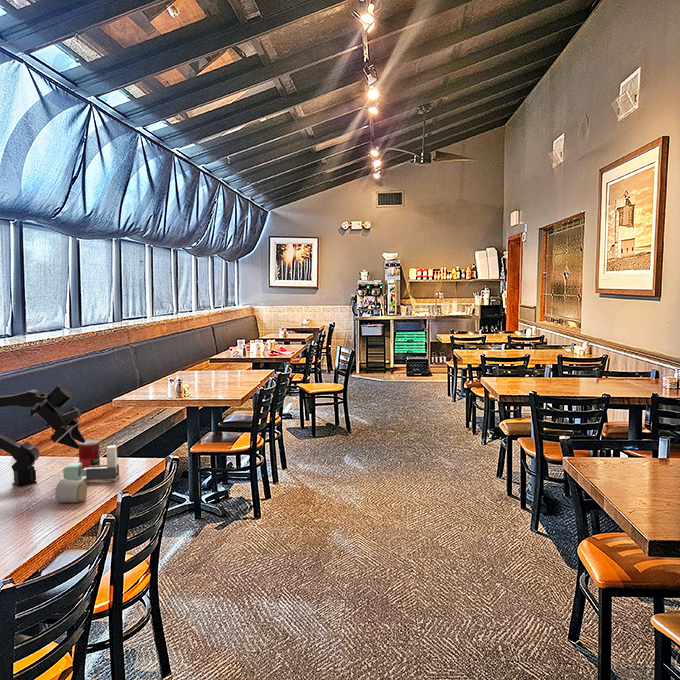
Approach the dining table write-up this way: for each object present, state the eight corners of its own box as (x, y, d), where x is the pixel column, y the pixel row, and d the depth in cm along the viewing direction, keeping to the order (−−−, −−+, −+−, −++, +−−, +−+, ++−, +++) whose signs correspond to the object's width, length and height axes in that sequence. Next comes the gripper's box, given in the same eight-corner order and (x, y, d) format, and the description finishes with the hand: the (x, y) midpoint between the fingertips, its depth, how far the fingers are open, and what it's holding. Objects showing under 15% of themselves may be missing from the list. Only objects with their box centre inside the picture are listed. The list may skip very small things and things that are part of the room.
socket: (82, 476, 224) (81, 462, 224) (77, 480, 219) (77, 466, 219) (67, 477, 224) (67, 463, 223) (63, 481, 218) (62, 467, 218)
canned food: (95, 470, 236) (94, 444, 235) (75, 470, 236) (74, 444, 235) (103, 465, 243) (102, 439, 243) (84, 465, 244) (83, 439, 243)
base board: (119, 476, 227) (119, 474, 227) (115, 481, 221) (115, 479, 221) (67, 479, 224) (67, 477, 224) (62, 484, 218) (62, 481, 218)
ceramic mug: (79, 505, 195) (78, 482, 195) (55, 505, 195) (54, 483, 195) (92, 495, 206) (92, 474, 205) (70, 495, 206) (69, 474, 205)
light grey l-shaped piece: (117, 472, 225) (116, 445, 224) (115, 474, 222) (114, 447, 221) (85, 474, 223) (84, 446, 223) (82, 476, 220) (81, 448, 220)
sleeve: (119, 474, 226) (118, 464, 226) (116, 478, 221) (115, 467, 221) (90, 476, 224) (89, 465, 224) (86, 480, 220) (86, 469, 219)
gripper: (61, 406, 211) (92, 436, 214) (74, 397, 229) (102, 425, 232) (37, 427, 210) (69, 457, 213) (52, 417, 228) (81, 444, 231)
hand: (81, 445), depth 222 cm, fingers open, 9 cm apart
